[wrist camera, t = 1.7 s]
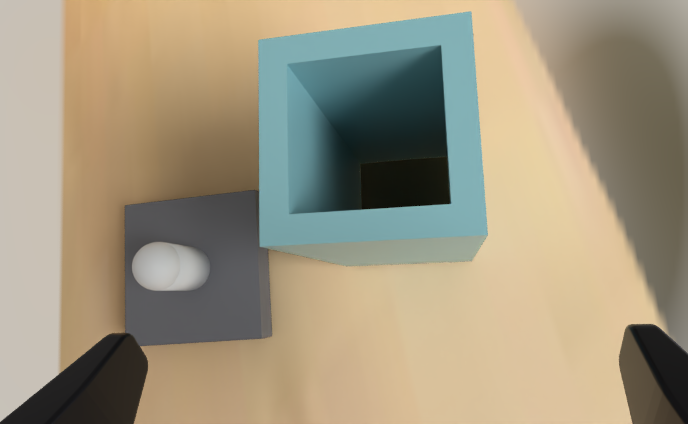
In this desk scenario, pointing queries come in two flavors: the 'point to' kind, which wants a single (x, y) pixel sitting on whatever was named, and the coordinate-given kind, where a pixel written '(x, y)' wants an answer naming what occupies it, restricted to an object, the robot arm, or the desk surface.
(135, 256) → the dark grey square plate
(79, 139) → the desk surface
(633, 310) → the desk surface
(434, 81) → the teal sleeve
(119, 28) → the desk surface
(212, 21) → the desk surface
